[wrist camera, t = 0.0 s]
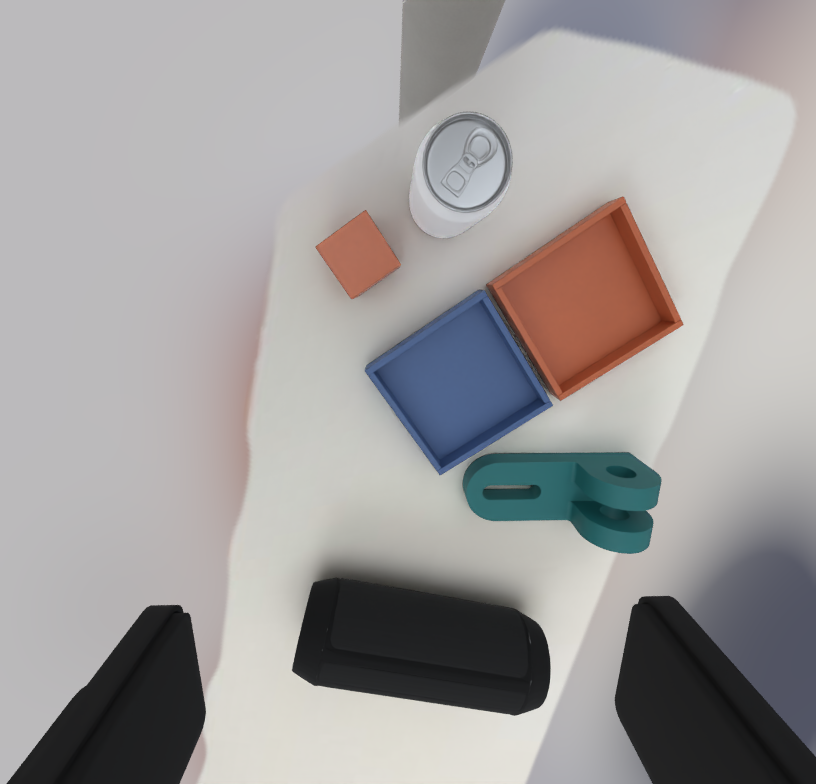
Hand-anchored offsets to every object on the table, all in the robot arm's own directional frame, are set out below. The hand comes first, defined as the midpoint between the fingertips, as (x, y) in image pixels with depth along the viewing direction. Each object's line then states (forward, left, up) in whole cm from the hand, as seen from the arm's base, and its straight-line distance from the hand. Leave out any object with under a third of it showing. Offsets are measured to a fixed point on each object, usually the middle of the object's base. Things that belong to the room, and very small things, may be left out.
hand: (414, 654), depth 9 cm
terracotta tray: (+5, +18, -33) cm, 38 cm away
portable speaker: (+26, -15, -33) cm, 45 cm away
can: (-10, +12, -33) cm, 36 cm away
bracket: (+20, +6, -33) cm, 39 cm away
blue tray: (+5, +4, -33) cm, 33 cm away
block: (-10, +3, -33) cm, 34 cm away
